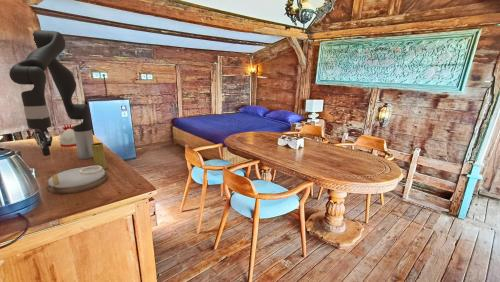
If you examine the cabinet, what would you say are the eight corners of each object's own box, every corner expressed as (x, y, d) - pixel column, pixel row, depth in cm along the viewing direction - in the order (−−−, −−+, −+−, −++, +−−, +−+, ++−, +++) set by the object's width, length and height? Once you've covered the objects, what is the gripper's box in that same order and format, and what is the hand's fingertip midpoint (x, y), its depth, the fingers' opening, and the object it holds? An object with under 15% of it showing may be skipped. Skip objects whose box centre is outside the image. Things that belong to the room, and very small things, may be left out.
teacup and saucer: (68, 137, 192) (67, 133, 191) (71, 139, 187) (70, 134, 186) (54, 139, 185) (53, 134, 184) (57, 141, 180) (56, 136, 179)
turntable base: (37, 185, 109) (36, 179, 109) (92, 169, 129) (91, 163, 129) (61, 199, 98) (60, 192, 97) (117, 179, 118) (116, 173, 117)
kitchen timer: (65, 142, 178) (61, 123, 174) (86, 141, 182) (83, 122, 178) (57, 147, 165) (52, 126, 161) (79, 146, 169) (76, 126, 165)
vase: (91, 169, 129) (87, 144, 125) (101, 165, 134) (97, 142, 130) (100, 171, 127) (96, 146, 123) (109, 167, 132) (106, 143, 129)
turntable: (40, 180, 109) (37, 170, 108) (90, 166, 128) (89, 156, 126) (62, 193, 99) (60, 181, 97) (114, 175, 117) (112, 165, 116)
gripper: (19, 115, 97) (29, 154, 102) (32, 119, 91) (42, 161, 96) (42, 113, 104) (50, 150, 108) (55, 116, 97) (64, 155, 102)
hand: (46, 155), depth 102 cm, fingers closed
